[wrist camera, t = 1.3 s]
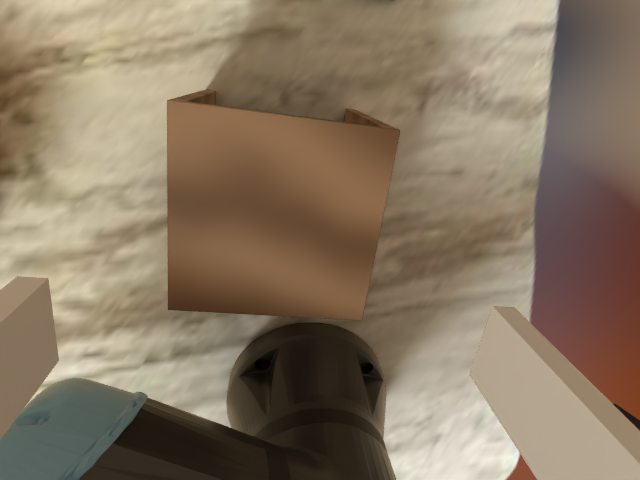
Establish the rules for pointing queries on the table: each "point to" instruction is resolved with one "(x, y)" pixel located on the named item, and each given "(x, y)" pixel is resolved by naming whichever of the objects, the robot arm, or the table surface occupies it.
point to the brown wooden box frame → (273, 209)
